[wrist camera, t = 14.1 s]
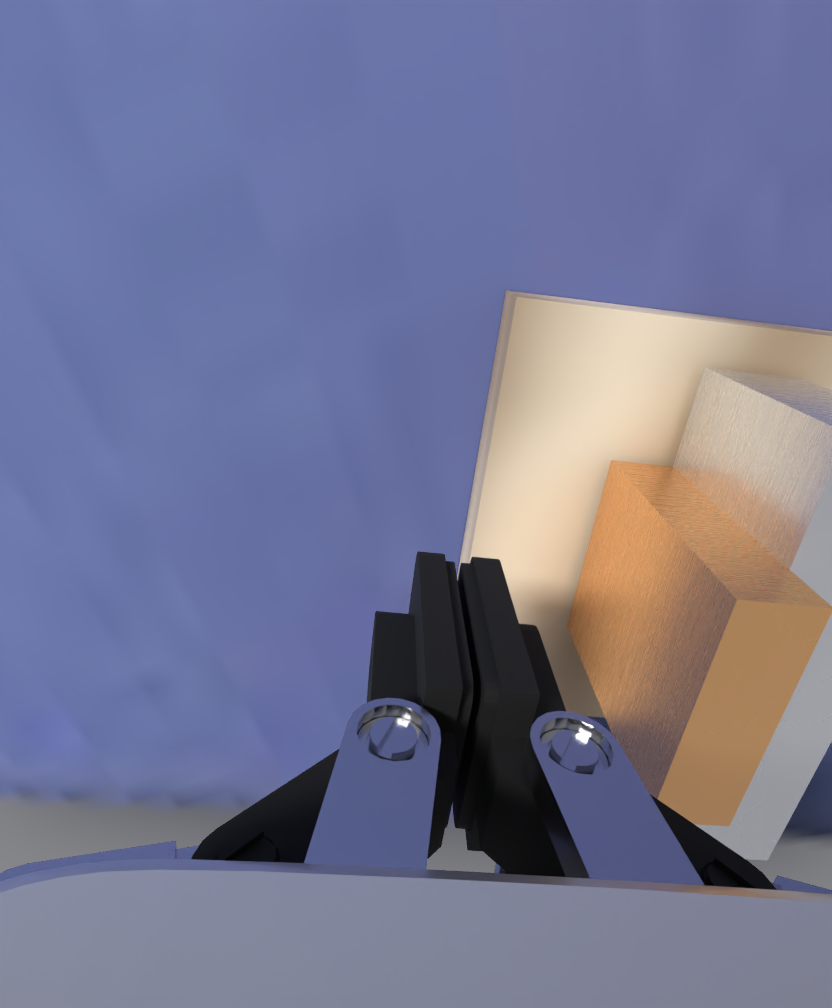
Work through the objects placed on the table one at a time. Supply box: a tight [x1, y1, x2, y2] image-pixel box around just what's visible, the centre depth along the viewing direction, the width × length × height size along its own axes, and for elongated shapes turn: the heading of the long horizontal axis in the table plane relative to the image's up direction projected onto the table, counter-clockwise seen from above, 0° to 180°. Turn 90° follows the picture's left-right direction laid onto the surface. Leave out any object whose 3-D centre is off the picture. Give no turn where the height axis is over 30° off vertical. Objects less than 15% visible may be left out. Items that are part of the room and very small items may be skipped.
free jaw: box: [567, 367, 832, 861], centre depth 13 cm, size 4×10×6 cm, turn 173°
